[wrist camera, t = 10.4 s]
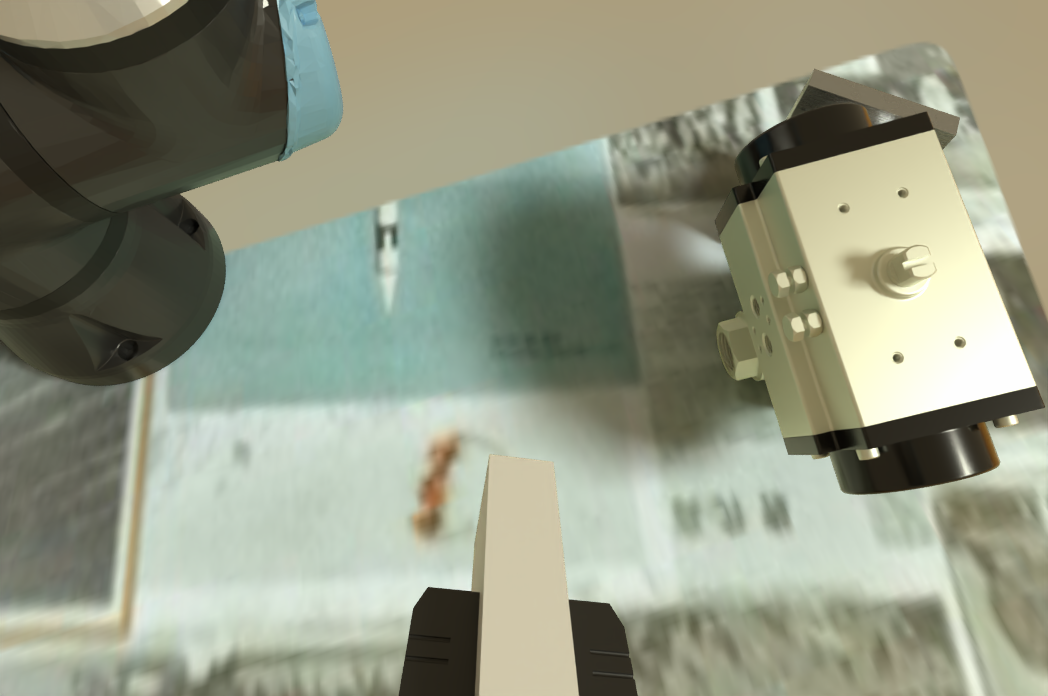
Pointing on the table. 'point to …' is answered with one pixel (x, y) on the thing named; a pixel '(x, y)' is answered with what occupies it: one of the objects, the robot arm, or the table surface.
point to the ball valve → (868, 302)
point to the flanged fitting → (869, 103)
